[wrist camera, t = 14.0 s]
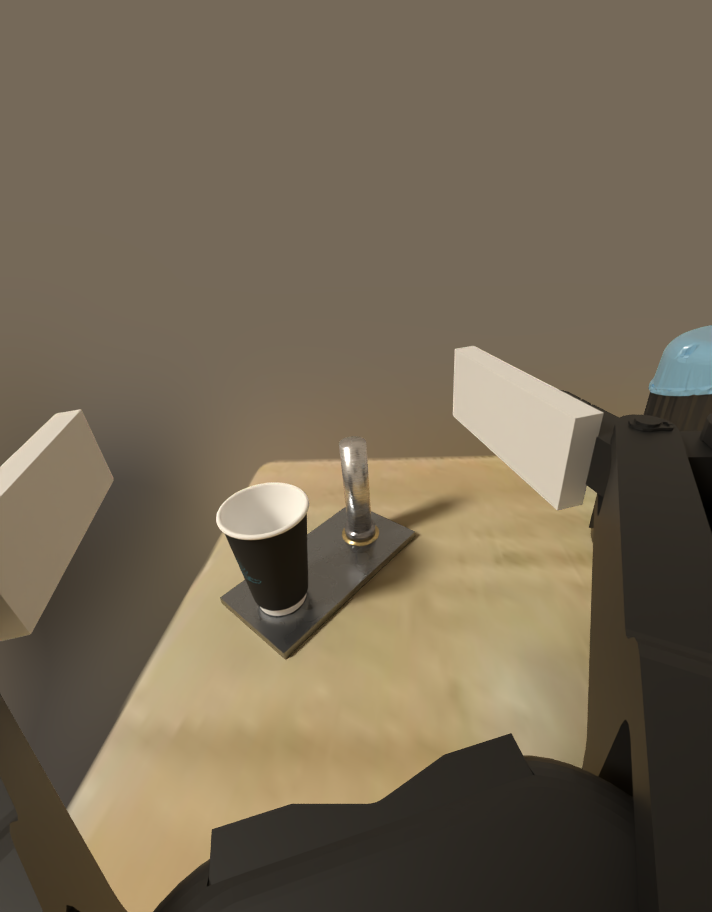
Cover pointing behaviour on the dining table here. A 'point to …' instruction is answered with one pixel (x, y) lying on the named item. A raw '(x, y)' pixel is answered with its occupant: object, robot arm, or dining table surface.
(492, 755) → the robot arm
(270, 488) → the dixie cup
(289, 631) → the plate
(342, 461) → the post
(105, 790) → the dining table surface
